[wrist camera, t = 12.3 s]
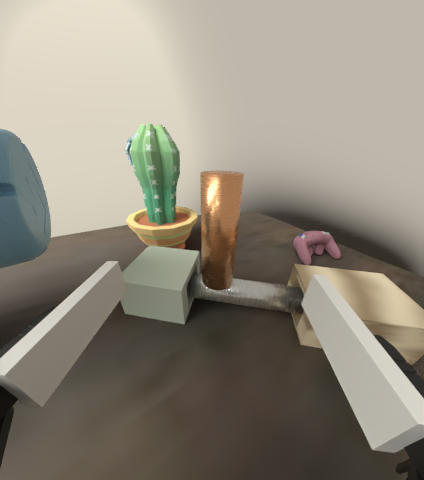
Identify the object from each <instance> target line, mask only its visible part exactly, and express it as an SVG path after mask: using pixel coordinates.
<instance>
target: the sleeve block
mask: <svg viewBox="0 0 424 480" xmlns="http://www.w3.org/2000/svg"><path fill="white" fill-rule="evenodd" d="M313 274H314V275H325V276H326V277H327V278H328V279H329V281H330V282H331V283H332V284H333V286H334V287H335V288H336V289H337V291H338V292H339V293H340V294H341V296H342V297H343V298H344V299H345V301H346V302H347V303H348V304H349V306H350V307H351V308H352V309H353V311H354V312H355V313H356V314H357V316H358V317H359V318H360V319H361V321H362V322H363V323H364V324H365V326H366V327H367V328H368V329H369V331H370V332H371V333H372V334H373V335H381V336H382V337H383V338H384V339H386V340H387V341H388V342H389V343H390V344H392V345H393V346H394V347H395V348H396V349H397V350H398V351H399V353H400V354H401V355H402V356H403V357H404V358H405V360H406V362H407V363H409V364H411V365H413V364H414V363H415V362H416V361H417V360H418V359H420V358H421V357H422V356H423V355H424V310H423V309H422V308H421V307H420V306H419V305H418V304H417V303H415V302H414V301H413V300H412V299H411V298H410V297H409V296H407V295H406V294H405V293H404V292H403V291H402V290H401V289H399V288H398V287H397V286H396V285H395V284H394V283H393V282H392V281H390V280H389V279H388V278H387V277H386V276H385V275H384V274H380V273H371V272H362V271H353V270H345V269H336V268H327V267H318V266H309V265H301V264H294V266H293V269H292V272H291V276H290V279H289V282H288V285H290V286H297V287H301V289H302V291H303V293H304V296H305V293H306V291H307V288H308V286H309V283H310V281H311V278H312V276H313ZM291 314H292V317H293V321H294V324H295V328H296V331H297V335H298V338H299V342H300V345H305V346H311V347H316V348H322V346H321V344H320V342H319V340H318V338H317V335H316V333H315V331H314V329H313V327H312V325H311V323H310V321H309V319H308V317H307V315H306V313H305V311H304V312H303V314H296V313H291ZM322 349H323V348H322Z"/></svg>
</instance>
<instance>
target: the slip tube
mask: <svg viewBox="0 0 424 480" xmlns="http://www.w3.org/2000/svg"><path fill="white" fill-rule="evenodd" d="M243 176H244V174H243V173H240V172H232V171H206V172H201V244H202V274H199V273H192V275H191V277H190V279H189V282H188V284H187V297H192V298H199V299H205V300H212V301H218V302H225V303H231V304H238V305H244V306H251V307H257V308H263V309H270V310H276V311H283V312H289V313H296V314H303V312H304V309H303V307H302V305H301V303H302V301H303V298H304V293H303V291H302V289H301V287H297V286H290V285H282V284H274V283H267V282H259V281H252V280H244V279H237V278H233V272H234V263H235V253H236V243H237V234H238V224H239V214H240V204H241V195H242V185H243Z"/></svg>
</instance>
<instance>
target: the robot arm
mask: <svg viewBox="0 0 424 480" xmlns="http://www.w3.org/2000/svg"><path fill="white" fill-rule="evenodd" d="M50 236H51V223H50V213H49V207H48V202H47V198H46V194H45V190H44V187H43V184H42V181H41V178H40V175H39V172H38V170H37V167H36V165H35V163H34V161H33V158H32V156H31V154H30V153H29V151H28V149H27V147H26V146H25V145H24V144H23V143H22V142H21V140H20V138H18V137H17V136H16V135H15V134H13V133H12V132H9V131H7V130H3V129H0V268H4V267H8V266H12V265H15V264H19V263H23V262H27V261H31V260H33V259H35V258H36V257H38V256H40V255H41V254H42V253H43V252H44V251H45V250H46V249H47V247H48V245H49V242H50ZM126 291H127V289H126V285H125V282H124V279H123V276H122V272H121V269H120V266H119V263H118V262H117V261H107V262H106V263H105V264H104V265H103V266H101V267H100V268H99V269H98V270H97V271H96V272H95V273H94V274H93V275H92V276H90V277H89V278H88V279H87V280H86V281H85V282H84V283H83V284H82V285H81V286H79V287H78V288H77V289H76V290H75V291H74V292H73V293H72V294H71V295H70V296H68V297H67V298H66V299H65V300H64V301H63V302H62V303H61V304H60V305H58V306H57V307H56V308H55V307H53V308H51V309H49V310H48V311H46V312H44V313H43V314H41V315H40V316H39V317H37V318H36V319H35V320H34V321H33V322H32V323H30V324H29V326H28V327H26V328H25V329H24V330H22V331H21V332H20V333H19V335H18V336H16V337H14V338H13V339H12V340H11V341H10V342H9V343H7V344H6V345H5V346H4V347H3V348H2V349H1V350H0V467H1V463H2V459H3V454H4V450H5V446H6V442H7V438H8V434H9V430H10V426H11V422H12V418H13V414H14V408H13V407H12V406H13V405H14V404H15V402H16V401H17V400H19V401H21V402H22V403H23V404H24V405H27V406H34V407H43V406H44V405H45V403H46V402H47V400H48V399H49V398H50V396H51V395H52V394H53V392H54V391H55V389H56V388H57V387H58V385H59V384H60V383H61V381H62V380H63V378H64V377H65V376H66V374H67V373H68V372H69V370H70V369H71V367H72V366H73V365H74V363H75V362H76V360H77V359H78V358H79V356H80V355H81V354H82V352H83V351H84V349H85V348H86V347H87V345H88V344H89V343H90V341H91V340H92V338H93V337H94V336H95V334H96V333H97V331H98V330H99V329H100V327H101V326H102V325H103V323H104V322H105V320H106V319H107V318H108V316H109V315H110V314H111V312H112V311H113V309H114V308H115V307H116V305H117V304H118V302H119V301H120V300H121V298H122V297H123V296H124V294H125V293H126ZM301 305H302V307H303V309H304V311H305V313H306V315H307V317H308V319H309V321H310V323H311V325H312V327H313V329H314V331H315V333H316V335H317V338H318V340H319V342H320V344H321V346H322V348H323V350H324V352H325V354H326V356H327V358H328V360H329V362H330V364H331V366H332V368H333V370H334V372H335V374H336V377H337V379H338V381H339V383H340V385H341V387H342V389H343V391H344V393H345V395H346V397H347V399H348V401H349V403H350V405H351V407H352V409H353V411H354V413H355V415H356V418H357V420H358V422H359V424H360V426H361V428H362V430H363V432H364V434H365V436H366V438H367V440H368V442H369V444H370V446H371V448H372V450H376V451H384V452H392V453H395V452H397V451H399V450H401V449H403V448H404V449H405V450H406V452H407V454H408V455H409V457H410V459H409V460H406V461H404V462H402V463H399V464H397V467H396V471H397V472H398V473H399V474H402V473H404V472H407V471H408V477H407V478H406V480H424V380H423V379H422V378H421V377H420V376H419V375H417V374H416V371H415V370H414V369H413V368H412V367H411V365H410V364H409V363H407V362H406V360H405V358H404V357H403V356H402V355H401V354H400V353H399V351H398V350H397V349H396V348H395V347H394V346H393V345H392V344H390V343H389V342H388V341H387V340H386V339H384V338H383V337H382V336H381V335H373V334H372V333H371V332H370V331H369V329H368V328H367V327H366V326H365V324H364V323H363V322H362V321H361V319H360V318H359V317H358V316H357V314H356V313H355V312H354V311H353V309H352V308H351V307H350V306H349V304H348V303H347V302H346V301H345V299H344V298H343V297H342V296H341V294H340V293H339V292H338V291H337V289H336V288H335V287H334V286H333V284H332V283H331V282H330V281H329V279H328V278H327V277H326V276H325V275H314V274H313V276H312V278H311V281H310V283H309V286H308V288H307V291H306V293H305V296H304V298H303V301H302V303H301Z"/></svg>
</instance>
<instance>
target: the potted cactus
mask: <svg viewBox="0 0 424 480" xmlns="http://www.w3.org/2000/svg"><path fill="white" fill-rule="evenodd" d="M127 143H128V144H127V145H126V148H125V151H126V154H129V155H128V156H129V161H130V165H131V166H133V167H134V172H135V175H136V177H137V178H138V181H139V183H140V185H141V187H142V189H143V195H144V200H145V206H146V209H142V210H140V211H137V212H135V213H133V214H130V216H129V217H128V219H127V220H126V222H127V224H128V226H129V228H131V229H132V230H133V231H134V232H135V233H136V234H137V235H138V237H139V238H140V239H141V240H142V241H143V242H144V243H145V244H147V245H148V246H158V247H167V248H176V249H184V248H185V241H186V240H187V238H188V237H189V235H190V233H191V230H192V227H193V225H195V224H196V222H197V214H196V213H195V211H193V210H191V209H188V208H185V207H177V206H176V186H177V181H178V178H179V174H180V164H179V163H180V158H179V150H178V148H177V146H176V144H175V143H174V141H173V140H172V138H171V136H170V135H169V133H168V132H167V130H166V129H165V127H163V126H162V125H158V126H155V127H154V126H153V125H152V124H150V123H148V124H147V126H144V125H142V124H141V125H140V127H139V129H138V131H137V133H135V134H134V135H133V136H132V137H130V138H129V139H128V141H127Z"/></svg>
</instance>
